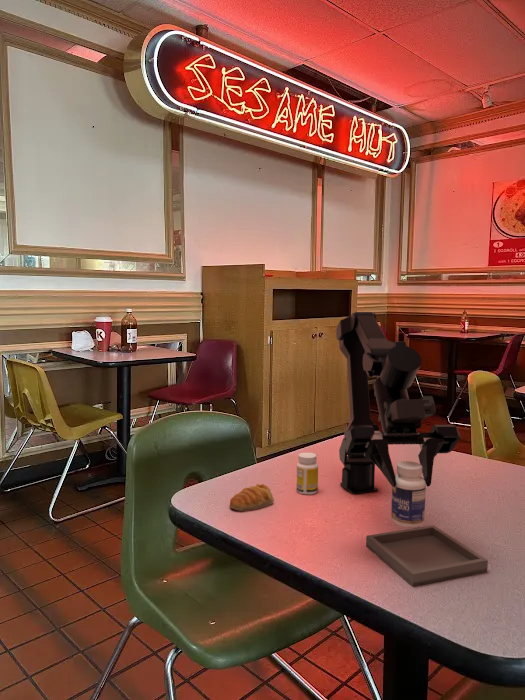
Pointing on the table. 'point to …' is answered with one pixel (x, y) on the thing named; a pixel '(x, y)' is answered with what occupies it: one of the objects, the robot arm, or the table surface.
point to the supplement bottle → (307, 474)
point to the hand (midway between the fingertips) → (411, 485)
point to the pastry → (252, 498)
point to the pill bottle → (408, 495)
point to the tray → (425, 555)
